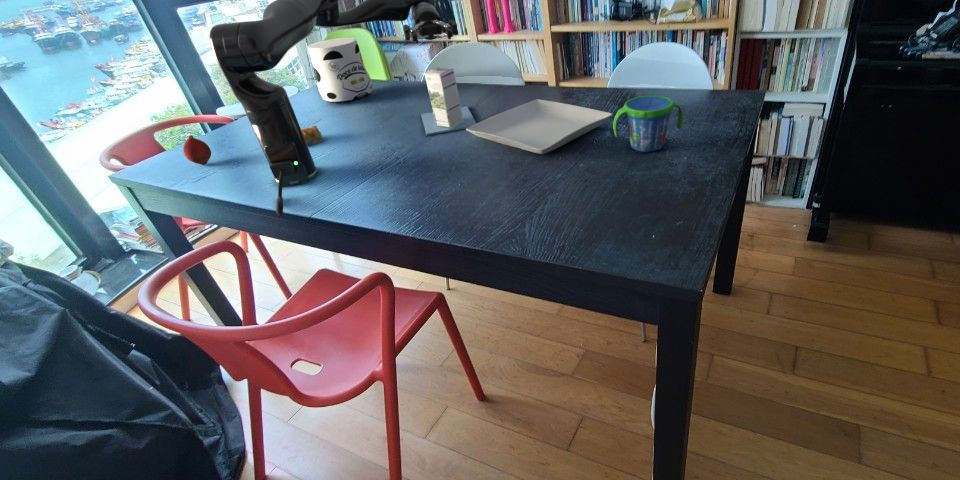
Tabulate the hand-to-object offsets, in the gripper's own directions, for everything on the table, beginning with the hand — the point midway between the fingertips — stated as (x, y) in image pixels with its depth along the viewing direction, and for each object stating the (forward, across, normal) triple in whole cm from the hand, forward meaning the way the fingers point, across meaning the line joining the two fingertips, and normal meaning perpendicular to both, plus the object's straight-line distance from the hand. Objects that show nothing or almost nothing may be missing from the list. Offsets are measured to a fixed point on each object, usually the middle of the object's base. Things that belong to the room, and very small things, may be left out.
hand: (432, 37), depth 125 cm
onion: (+4, -65, +24) cm, 69 cm away
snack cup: (+44, +42, +18) cm, 63 cm away
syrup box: (+7, 0, +21) cm, 22 cm away
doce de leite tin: (-38, -30, +26) cm, 55 cm away
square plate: (+24, +22, +20) cm, 38 cm away
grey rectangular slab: (+2, 0, +22) cm, 22 cm away
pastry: (0, -39, +23) cm, 45 cm away
